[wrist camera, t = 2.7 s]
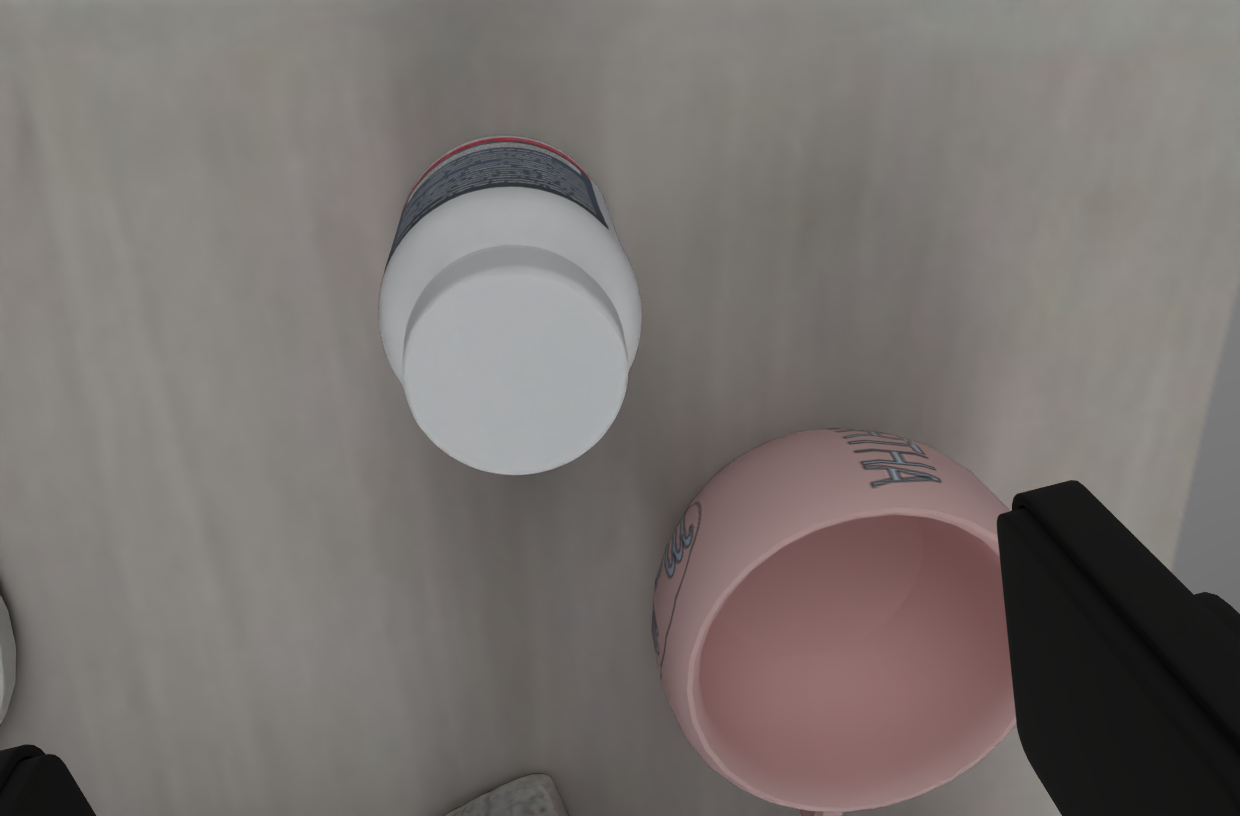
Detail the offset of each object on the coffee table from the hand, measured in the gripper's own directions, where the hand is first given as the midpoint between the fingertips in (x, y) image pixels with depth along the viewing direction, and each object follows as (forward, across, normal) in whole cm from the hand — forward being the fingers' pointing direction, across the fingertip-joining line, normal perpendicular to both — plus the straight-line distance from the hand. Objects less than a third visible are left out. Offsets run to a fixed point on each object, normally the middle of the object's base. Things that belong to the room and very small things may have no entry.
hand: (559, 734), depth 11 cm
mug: (+18, -5, +12) cm, 22 cm away
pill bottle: (+18, +1, 0) cm, 18 cm away
